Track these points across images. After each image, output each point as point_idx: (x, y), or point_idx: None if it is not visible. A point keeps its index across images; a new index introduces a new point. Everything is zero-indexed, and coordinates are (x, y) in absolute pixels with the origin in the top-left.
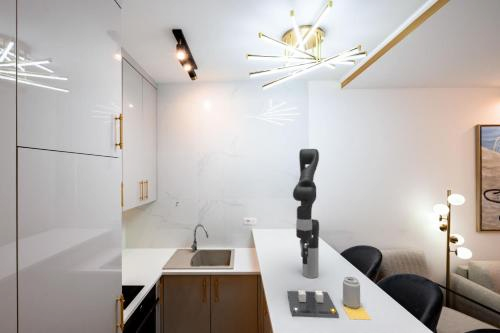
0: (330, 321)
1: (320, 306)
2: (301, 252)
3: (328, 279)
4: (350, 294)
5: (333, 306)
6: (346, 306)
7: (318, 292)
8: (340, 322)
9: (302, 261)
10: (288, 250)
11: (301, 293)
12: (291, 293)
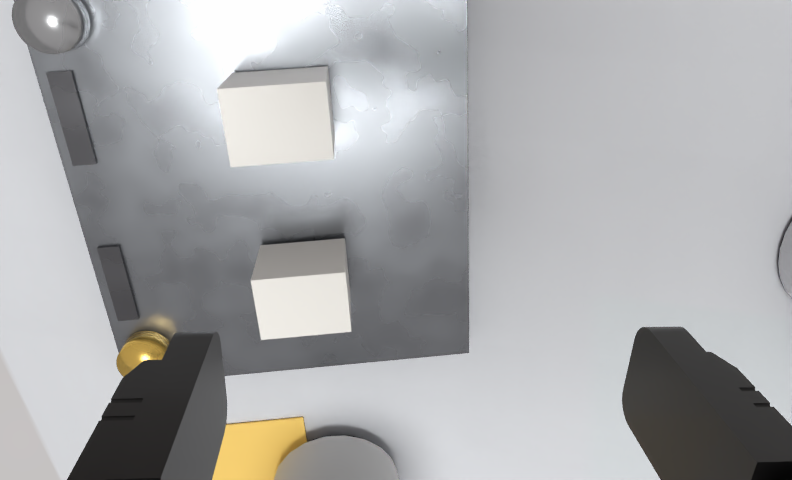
0: (67, 304)
1: (209, 266)
2: (702, 404)
3: None
4: None
5: (235, 365)
6: (305, 440)
7: (305, 301)
8: (80, 368)
9: (202, 355)
10: None
11: (241, 116)
12: None
